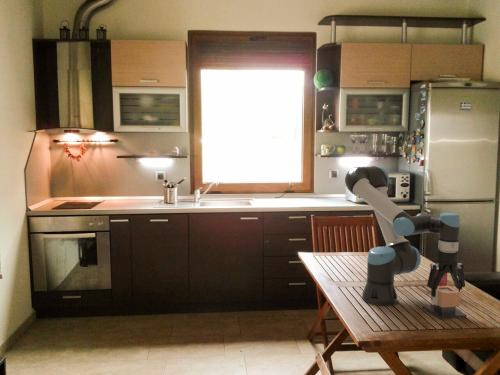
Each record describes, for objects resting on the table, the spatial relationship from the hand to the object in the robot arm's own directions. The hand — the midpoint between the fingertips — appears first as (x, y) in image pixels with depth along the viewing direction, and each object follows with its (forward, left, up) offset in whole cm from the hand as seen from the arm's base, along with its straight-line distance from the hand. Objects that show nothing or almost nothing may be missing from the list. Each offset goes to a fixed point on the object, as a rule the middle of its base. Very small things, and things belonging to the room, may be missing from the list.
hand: (445, 303), depth 183 cm
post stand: (0, 0, -4) cm, 4 cm away
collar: (0, 0, 0) cm, 0 cm away
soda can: (+11, +23, -4) cm, 26 cm away
